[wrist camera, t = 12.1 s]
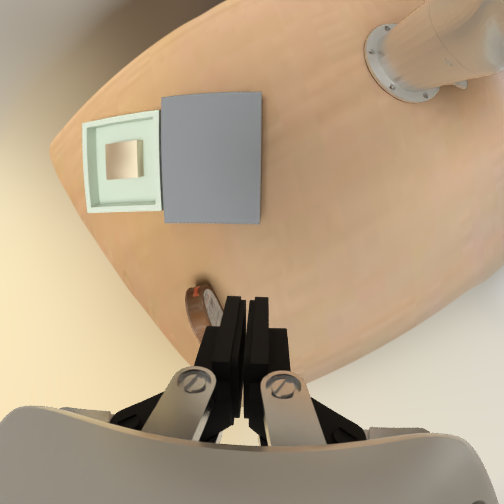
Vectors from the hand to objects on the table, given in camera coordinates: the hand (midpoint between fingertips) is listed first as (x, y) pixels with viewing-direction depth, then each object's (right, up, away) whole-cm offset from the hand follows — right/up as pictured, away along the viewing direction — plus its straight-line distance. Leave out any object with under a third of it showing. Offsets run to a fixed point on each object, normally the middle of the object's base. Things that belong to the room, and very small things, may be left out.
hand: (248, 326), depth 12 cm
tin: (-5, -7, +32) cm, 33 cm away
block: (-17, +15, +21) cm, 31 cm away
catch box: (-17, +16, +24) cm, 33 cm away
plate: (-5, +15, +23) cm, 28 cm away
